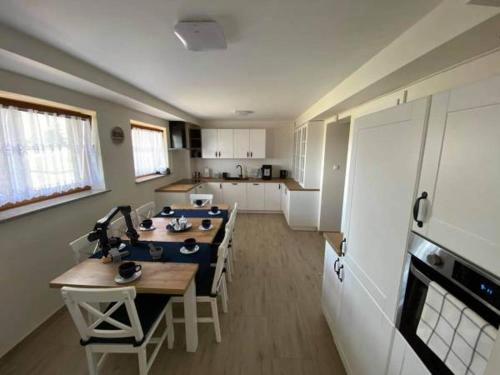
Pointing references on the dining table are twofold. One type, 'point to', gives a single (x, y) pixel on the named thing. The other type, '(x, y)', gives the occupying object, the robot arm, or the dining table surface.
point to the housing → (115, 255)
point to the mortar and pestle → (155, 251)
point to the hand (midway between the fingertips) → (105, 255)
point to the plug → (111, 256)
